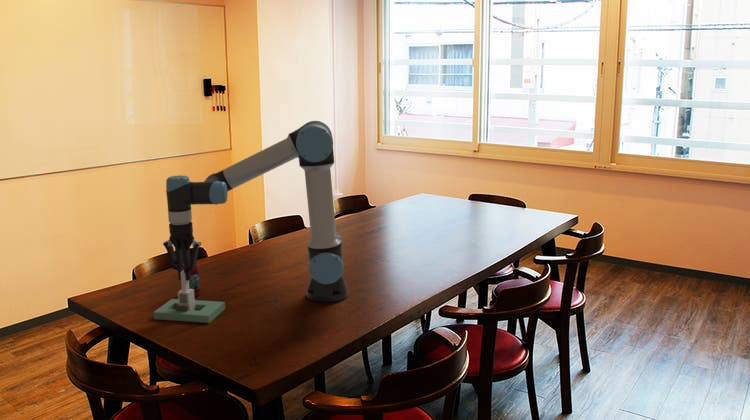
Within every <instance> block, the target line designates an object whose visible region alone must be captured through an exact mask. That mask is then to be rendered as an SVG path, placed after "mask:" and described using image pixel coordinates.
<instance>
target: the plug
mask: <svg viewBox="0 0 750 420" xmlns="http://www.w3.org/2000/svg"><path fill="white" fill-rule="evenodd" d="M177 299H178V303H179V305H180V306H188V310H195V300H196V298H195V297H194V289H187V290H186V291H185V290H182V289H180V290H179V291H178V292H177Z"/></svg>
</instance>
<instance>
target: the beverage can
mask: <svg viewBox="0 0 750 420" xmlns="http://www.w3.org/2000/svg"><path fill="white" fill-rule="evenodd" d="M183 270H184V269H183ZM200 275H201V274H200V267H199V266H198V264H197V262H196V268H194V269H193V270H191V279H190V280H189V289H194V298H195V297H197V296H199V295H200V294H201V293H202V291H201V278H200ZM180 287H181V289H182V286H181V285H180Z"/></svg>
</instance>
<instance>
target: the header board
mask: <svg viewBox="0 0 750 420" xmlns="http://www.w3.org/2000/svg"><path fill="white" fill-rule="evenodd" d="M225 309H226V301H212V300H199V299H198V300H196V299H195V310H188V306H180V305H179V303H178V298H171V299H169V300H168V301H166V302H165V303H164V304H163V305H161V306H159V307H158V308H157V309H156V310H155V311H153V319H154V320H163V321H164V320H165V321H173V322H174V321H177V322H178V321H179V322H191V323H203V324H205V323H206V324H210V323H211V322H212V321H213V320H214V319H216V317H218V316H219V315H220V314H221V313H222V312H224V310H225Z"/></svg>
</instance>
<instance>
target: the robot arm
mask: <svg viewBox="0 0 750 420" xmlns="http://www.w3.org/2000/svg"><path fill="white" fill-rule="evenodd" d="M295 159H298V163H299V167H300V168H302V170H303V171H304V179H305V189H306V199H307V208H308V210H307V211H308V219H309V220H308V221H309V227H310V228H309V229H310V237H309V242H307V253H308V254H307V255H308V272H309V275H310V277H309V278H310V279H309V282H308V286H307V288H306V298H307V299H309V300H310V301H313V302H318V303H334V302H339V301H343V300H345V299H346V298H348V296H349V289H348V285H347V282H346V280H345V278H344V275H343V274H344V271H345V263H344V257H343V238H342V236H341V235H340V234H337V230H336V229H337V228H336V217H335V216H336V215H335V206H334V194H333V186H332V184H333V183H332V172H331V168H332V166H333V165H334V164H335V156H334V138H333V133H332V130H331V129H330V127H329V126H328V125H327V124H326V123H324V122H323V121H320V120H310V121H308V122H306V123H304V124H303V125H302V126H300V127H299V128H297V129H295V130H294V131H291V132H290V133H288V135H287V137H286V138H284V139H282V140H280V141H278V142H276V143H274V144H272V145H270V146H268V147H266V148H264V149H262V150H260V151H258V152H256V153H253V154H251V155H250V156H248V157H246V158H244V159H241V160H240V161H237V162H236V163H234V164H231V165H230V166H227V167H226V168H223V169H222V170H220V171H218V172H215V173H212V174H210V175H208V176H207V177H206V178H205V180H204V181H191V180H190V177H189V176H188V175H178V174H177V175H172V176H168V177H167V178H166V181H165V185H166V186H165V187H166V188H165V192H166V201H167V215H168V217H167V218H168V222H169V224H168V229H169V234H170V235H169V239H168V240H166V241H164V242H162V243H163V246H164V248H165V250H166V251H167V255H168V258H169V262H170V266H171V268H172V270H176V271H177V272H178V273H177V276H178V281H180V287H181V286H182V288H181V290H185V291H186V290H187V289H189V280H190V279H191V270H193V269H194V268H196V263H197V262H198V256H199V249H200V247H201V245H202V242H201V241H196V240H195V237H194V234H193V233H194V229H193V222H192V220H193V218H192V216H193V215H192V206H194V205H216V206H217V205H222V204H226V203H227V201H228V192H230V191H232V190H233V189H235V188H237V187H240V186H242V185H243V184H245V183H248V182H250V181H252V180H254V179H256V178H258V177H260V176H262V175H264V174H266V173H268V172H270V171H273V170H274V169H277V168H278V167H281V166H283V165H285V164H286V163H289V162H291V161H293V160H295ZM191 246H192V247H191ZM191 248H192V250H191ZM183 269H184V270H183Z"/></svg>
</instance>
